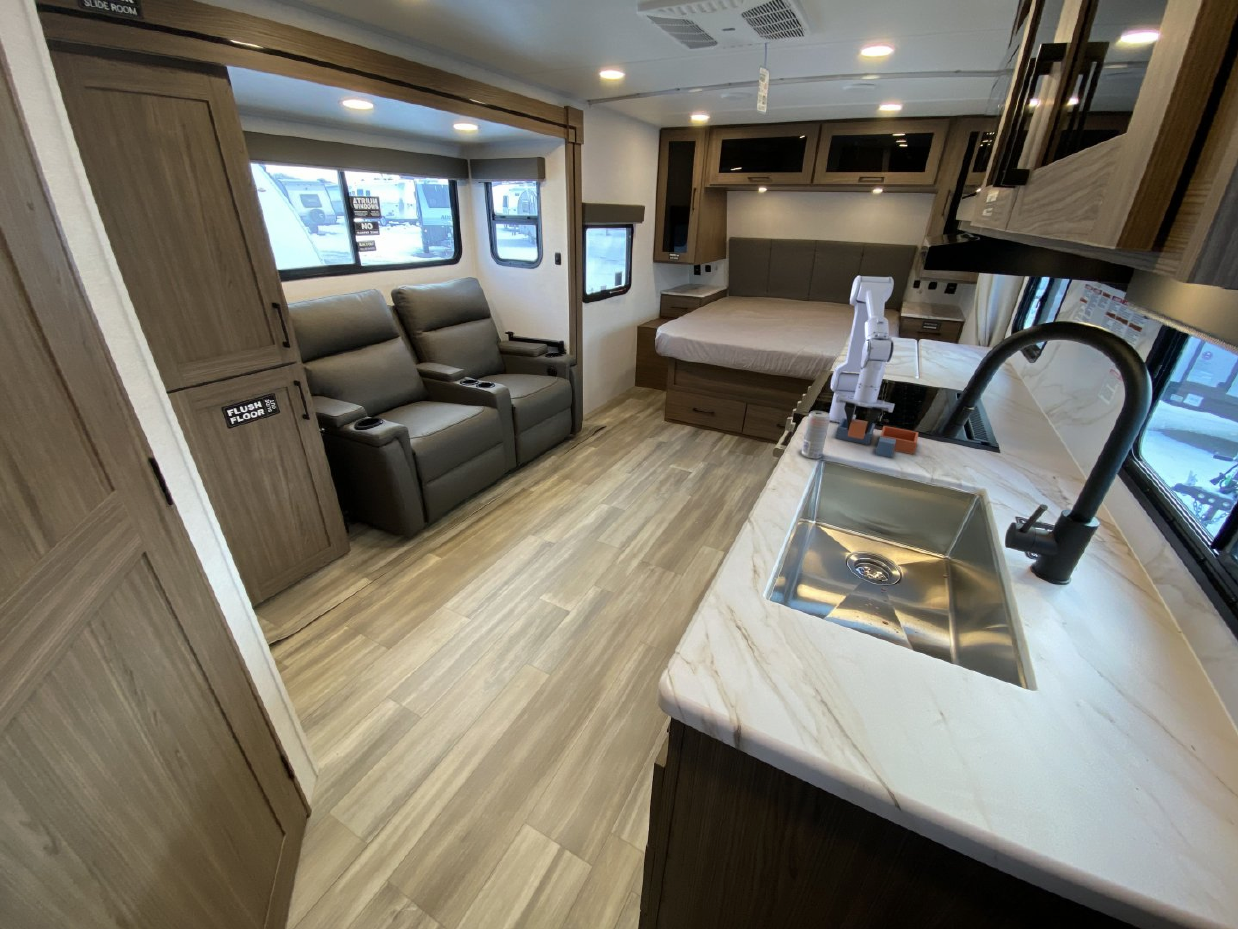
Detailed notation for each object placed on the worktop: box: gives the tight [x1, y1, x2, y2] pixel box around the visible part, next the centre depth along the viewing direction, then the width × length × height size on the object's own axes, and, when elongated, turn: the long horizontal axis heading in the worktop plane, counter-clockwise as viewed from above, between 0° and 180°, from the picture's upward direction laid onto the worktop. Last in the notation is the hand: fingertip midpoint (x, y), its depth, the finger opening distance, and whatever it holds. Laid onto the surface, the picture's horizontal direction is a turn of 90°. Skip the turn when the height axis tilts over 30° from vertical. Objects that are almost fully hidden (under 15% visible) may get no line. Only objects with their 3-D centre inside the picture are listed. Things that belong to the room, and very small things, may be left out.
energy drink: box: [800, 410, 831, 460], centre depth 133 cm, size 5×5×12 cm
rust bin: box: [879, 425, 919, 455], centre depth 142 cm, size 9×9×4 cm
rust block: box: [848, 418, 868, 439], centre depth 139 cm, size 4×4×4 cm
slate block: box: [874, 436, 896, 458], centre depth 137 cm, size 4×4×4 cm
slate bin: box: [834, 418, 876, 446], centre depth 147 cm, size 9×9×4 cm
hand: (857, 430), depth 139 cm, fingers closed on rust block, 4 cm apart
